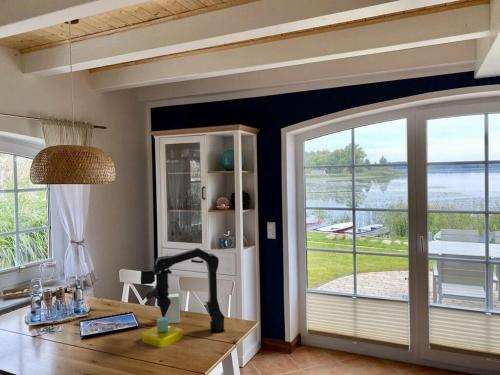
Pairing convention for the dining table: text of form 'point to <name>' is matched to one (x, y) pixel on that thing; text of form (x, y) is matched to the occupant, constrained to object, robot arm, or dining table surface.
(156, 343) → the element tile
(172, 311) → the skincare box
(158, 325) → the block
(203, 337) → the dining table surface
